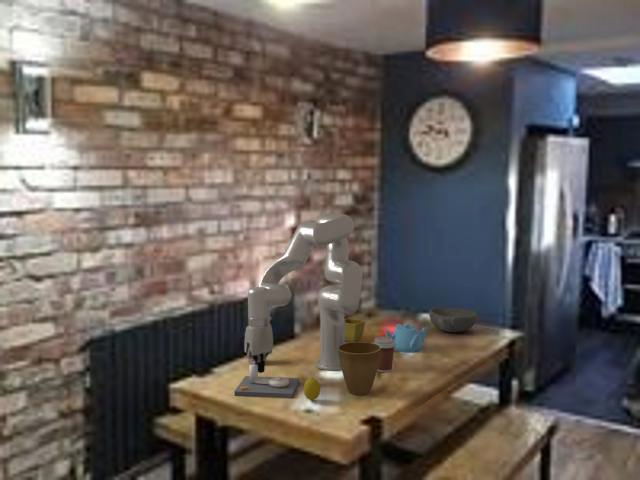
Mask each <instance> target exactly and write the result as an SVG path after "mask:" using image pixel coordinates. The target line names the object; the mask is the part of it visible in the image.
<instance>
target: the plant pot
mask: <svg viewBox="0 0 640 480" xmlns="http://www.w3.org/2000/svg"><path fill="white" fill-rule="evenodd" d="M380 350H381V347H380V346H379V345H377V344H374V343H373V342H367V341H356V342H345V343H344V344H341V345H339V346H338V354H339V360H340V365H341V369H342V370H341V372H342V373H341V374H342V376H343V378H344V379H343V380H344V382H345V385H346V388H347V390H348V393H349V394H350V395H354V396H366V395H368V394H370V392H371V391H372V388H373V385H374V383H375V379H376V375H377V372H378V371H377V368H378V363H379V358H380Z"/></svg>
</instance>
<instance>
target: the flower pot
mask: <svg viewBox="0 0 640 480" xmlns="http://www.w3.org/2000/svg"><path fill="white" fill-rule="evenodd" d="M344 319H345V318H344ZM365 324H366V320H363V319H362V320H361V319H356V318H350V317H349V318H346V319H345V342H348V343H350V342H359V341H360V340H361V338H362V336H363V335H364V332H365V331H364V330H365Z"/></svg>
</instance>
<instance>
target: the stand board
mask: <svg viewBox="0 0 640 480" xmlns="http://www.w3.org/2000/svg"><path fill="white" fill-rule="evenodd" d="M275 377H276V376H258V379H271V378H275ZM286 378H287V379H289V385H288V386H286V387H272V386H270V385H269V384H258V383H250V382H249V375H244V377H243V379H242V380H241V382H240V383H239V384H238V385H237V387H236V389H235V390H234V396H237V397H259V398H260V397H261V398H262V397H263V398H281V399H283V398H284V399H293V397H294V395H295V393H296V391H297V388H298V386H299V384H300V377H286Z"/></svg>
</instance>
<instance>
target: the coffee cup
mask: <svg viewBox="0 0 640 480" xmlns="http://www.w3.org/2000/svg"><path fill="white" fill-rule="evenodd" d="M372 343H374V344H377V345H379V346H380V347H381V350H380V358H379V363H378V368H377V372H379V373H388V372H392V371H393V363H394V361H393V360H394V352H395V350H394V347H395V346H396V343H395V342H393V339H392V338H389V337H387V336H380V337H375V338H374V341H372Z"/></svg>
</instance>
